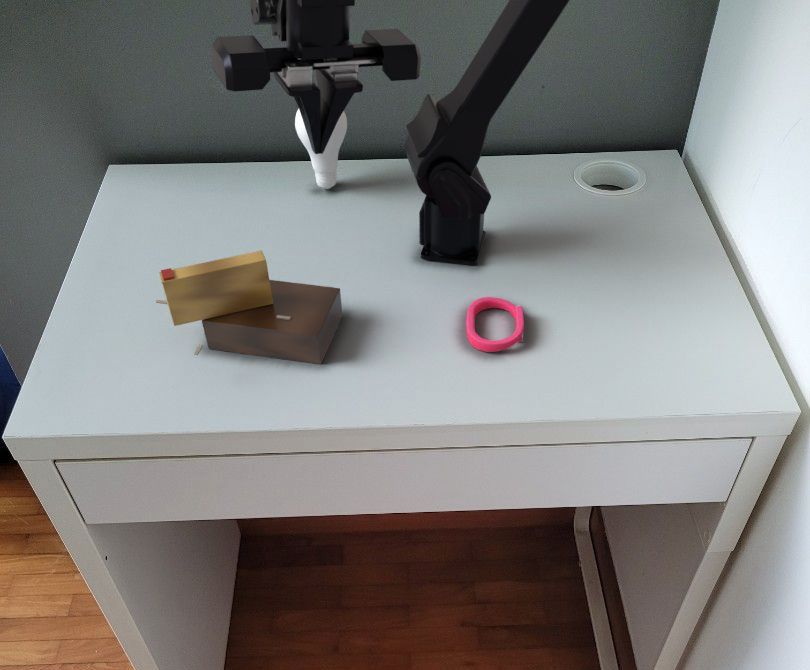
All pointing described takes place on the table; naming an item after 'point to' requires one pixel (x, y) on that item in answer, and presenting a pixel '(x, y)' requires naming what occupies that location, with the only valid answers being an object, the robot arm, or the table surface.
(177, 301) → the tap handle
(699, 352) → the table surface
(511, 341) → the fitness band
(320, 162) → the lightbulb
